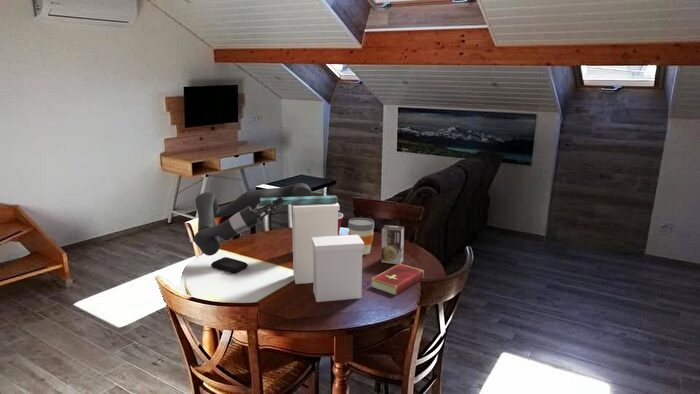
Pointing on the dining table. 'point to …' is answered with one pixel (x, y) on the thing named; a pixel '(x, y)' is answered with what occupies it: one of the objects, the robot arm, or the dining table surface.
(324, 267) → the low stand
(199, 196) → the robot arm
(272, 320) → the dining table surface
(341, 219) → the plastic cup
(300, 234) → the tall stand
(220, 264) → the carrying case or bag
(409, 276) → the hardcover book
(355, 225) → the reusable coffee cup
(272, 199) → the slat
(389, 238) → the coffee box
